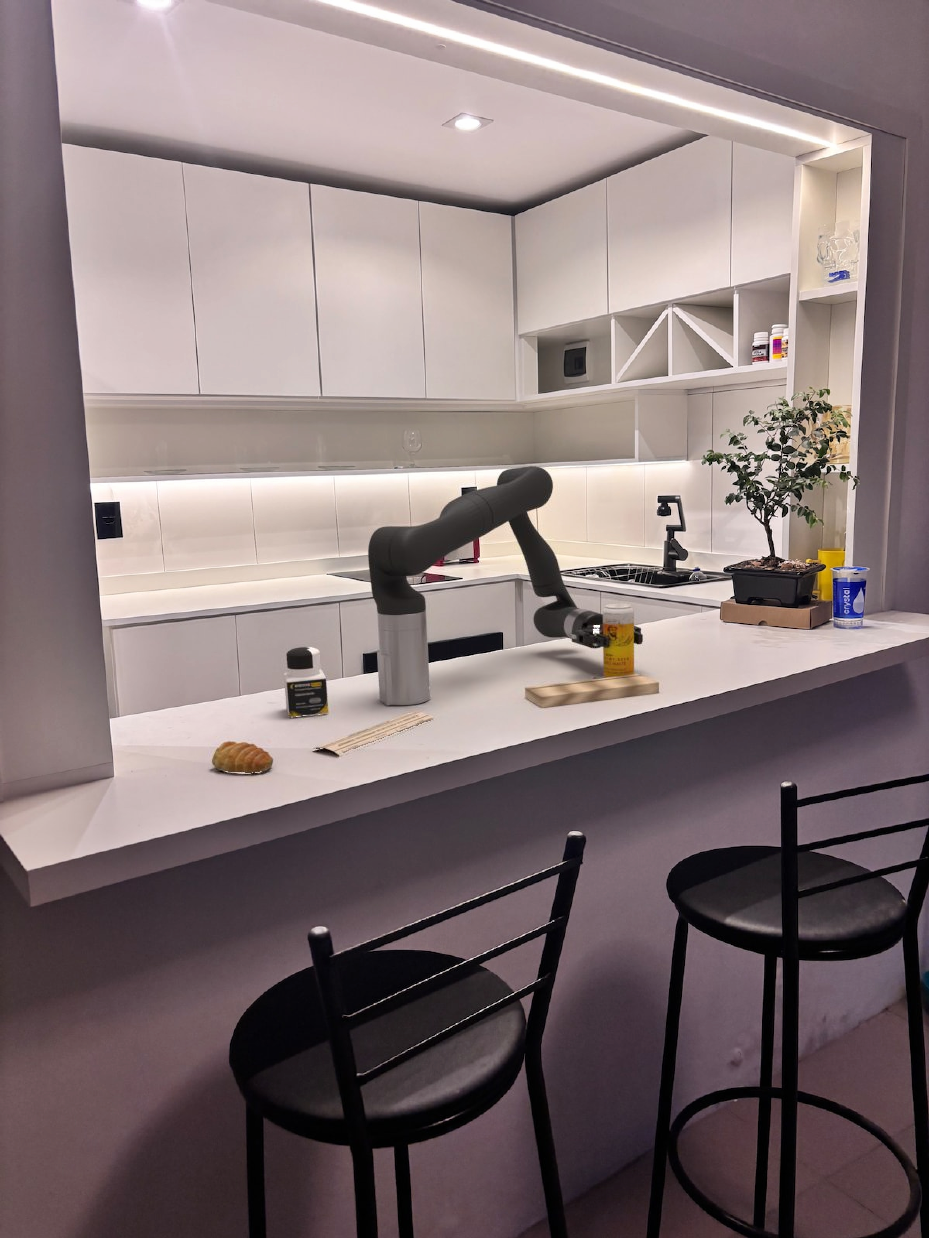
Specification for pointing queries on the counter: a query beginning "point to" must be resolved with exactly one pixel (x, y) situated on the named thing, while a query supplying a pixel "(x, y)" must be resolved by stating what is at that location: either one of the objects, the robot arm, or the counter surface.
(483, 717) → the counter surface
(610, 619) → the beer can
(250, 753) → the pastry
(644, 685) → the board
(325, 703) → the medicine bottle
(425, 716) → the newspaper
